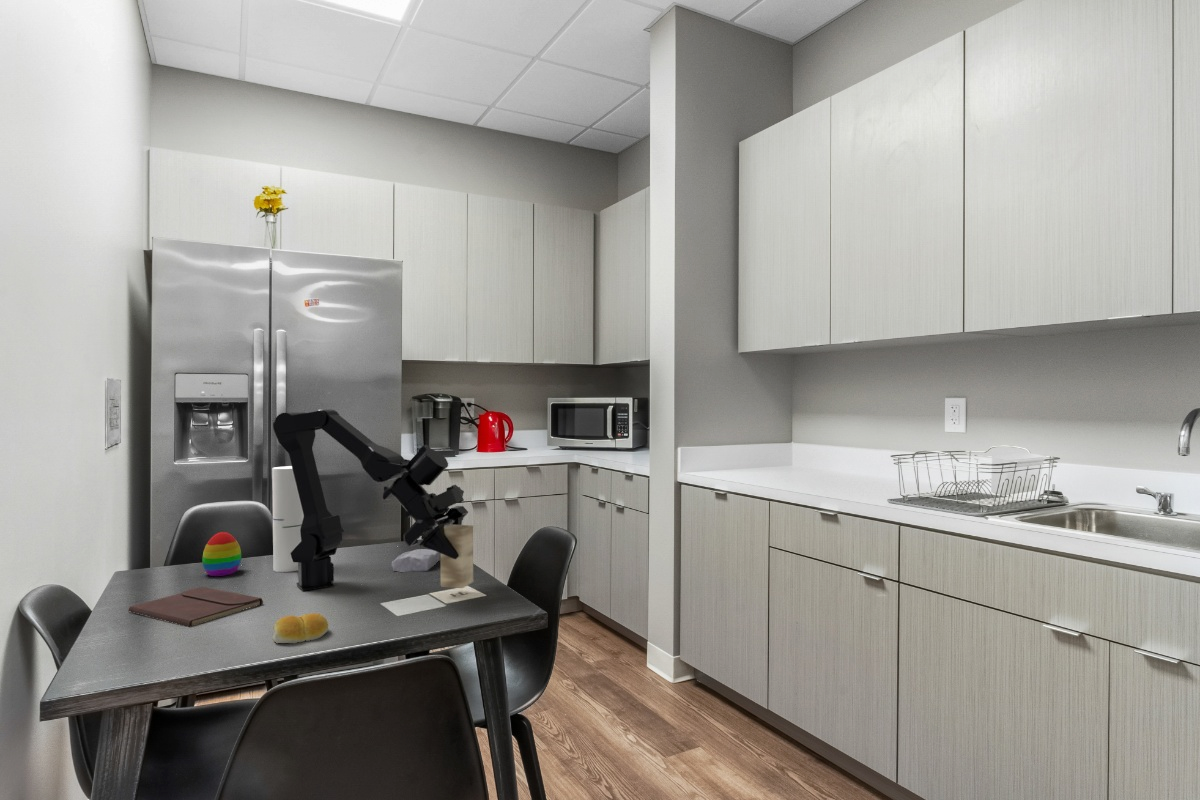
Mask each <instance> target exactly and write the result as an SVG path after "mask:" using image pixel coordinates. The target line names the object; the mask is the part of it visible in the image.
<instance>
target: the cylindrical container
mask: <svg viewBox="0 0 1200 800" xmlns="http://www.w3.org/2000/svg"><path fill="white" fill-rule="evenodd" d="M271 471H272V472H271V473H272V474H271V475H272V479H271V480H272V483H271V484H272V485H271V486H272V546H273V547H272V548H273V549H272V550H273V551H272V554H273V555H272V557H273V559H272V560H273V562H272V563H273V564H272V565H273V567H272V568H273V571H274V572H277V573H288V572H290V573H291V572H295V571H298V562H293V560H292V557H291V552H292V551H293V550H294V549H295V547H296V546H297V545H298V544H299V543H300V542H301V534H300V529H301V525H302V521H303V518H304V515H303V510H302V506H301V502H300V498H299V494H298V490H297V486H296V482H295V477H294V473H293V469H292V465H288V466H277V467H275V466H274V467H272V469H271Z"/></svg>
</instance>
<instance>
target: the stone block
mask: <svg viewBox="0 0 1200 800" xmlns="http://www.w3.org/2000/svg"><path fill="white" fill-rule="evenodd" d="M440 559H441V555H440V553H439V552H437V551H434V550H431V549H428V548H424V549H423V548H421V549H419V548H417V549H414V550H409V551H406V552H402V554H400V555H398V556H397V557H396V558H395V559H393V560H392V561H391V568H392V571H393V572H394V571H400V572H405V571H410V572H427V571H429V570H430V569H431V568H434V567H435V566H436V565H437V564H438V563H439V562H438V561H440ZM437 562H438V563H437ZM436 563H437V564H436ZM434 565H435V566H434Z"/></svg>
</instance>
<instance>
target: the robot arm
mask: <svg viewBox="0 0 1200 800" xmlns="http://www.w3.org/2000/svg"><path fill="white" fill-rule="evenodd" d="M272 427H273V432H274V435H275V436H276V439H277V441H278V443H279V445H280V446H281V447H282V448H283V449H284V450H285V451H286V452H287V455H288V456H289V461H290V464H291V465H290V466H292V469H293V473H294V477H295V482H296V486H297V490H298V494H299V498H300V502H301V506H302V510H303V515H304V518H303V521H302V525H301V529H300V534H301V542H300V543H299V544H298V545H297V546H296V547H295V549H294V550H293V551H292V552H291V557H292V560H293V562H298V570H297V571H298V573H297V574H298V577H297V578H298V580H297V581H298V582H296V584H295V585H296V586H297V588H299V590H301V591H303V592H304V591H310V590H318V589H323V588H329V587H333V586H334V583H333V582H334V581H335V580H334V577H335V575H334V574H335V571H334V569H335V568H334V566H335V565H334V563H333V562H332V557H331V556H334V555H336V553H337V550H338V546H340V544H341V542H342V540H343V533H344V532H345V530H344V529H343V527H342V525H341V524H342V523H341V517H340V515H339V514H336V515H333V514H332V513H331V512H330V511H329V509H328V508H327V504H326V500H325V496H324V492H323V487H322V484H321V478H320V475H319V471H318V467H317V463H316V459H315V455H314V451H313V446H314V442H315V439H316V431H318V430H322V431H324V432H325V433H327V435H328V436H330V437H332V439H333V440H335V441H336V442H338V443H339V445H341V446H343V447H344V448H345V449H346V450H347V451H348V452H350V453H351V454H352V455H354V456H355V458H357V459H358V460H359V461H360V464H361V467H362V469H363V470H364V471H365V472H366V473H367V475H368V476H369V477H370V478H371V479H372V480H373V481H374V482H376V483H377V482H378V483H383V482H387V481H392V480H394V481H393V482H391V484H390V485H386V486H385V485H384V486H383V494H382V499H383V500H388V499H392V498H395V499H396V500H397V502H398V503H399V504H400V505H401V506H402V507H403V509H404V510H405V511H406V512H405V513H404V516H405V517H406V518H412V520H414V521H415V522H414V523H413V524H412V525H410V526H409V528H408V529H407V530H406V531H405V532H404V533H403V542H404V543H405V544H406V546H408V547H409V548H411V547H413V546H417V545H418V546H419V547H423V548H425V549H428V550H434V551H437V552H439V554H440V555H441V554H444V555H446V556H448V557H451V558H453V559H457V557H458V556H459V555H458V553H457V551H456V550H455V548H454V547H453V545H452V544H451V543H450V541H449V540H448V538H447V537H446V535H445V534H444V527H447V526H449V525H463V520H464V518H465V517H466V516H467V515H468V513H469V511H468V510H467V509H466V507H465V506H463V505H456V506H454V507H452V506H453V505H455V504H458V503H463V502H464V501H465V499H464V493H465V492H464V490H463V489H461V487H460V486H458V485H457V484H453V485H451V486H449V487H446V491H443V492H441V493H440V494H436V493H433V492H432V493H428V491H427V490H426V489H425V488H424V487H423V486H431V485H432V484H433V483H434V481H436V479H438V477H439V476H440V475H442V473H443V472H444V471H445V470H446V469H447V468H448V466H449V462H448V460H447V459H446V457H445V456H444V455H443V454H441V453H440V452H438V451H437V450H435V449H433V448H431V447H430V446H429V445H426V444H425V445H422V446H421V447H420V448H419V449H418V451H417V453H416V454H415V455H414V456H413V457H412V458H411V459H406V458H404V457H403V456H402V455H401V454H400V453H397V452H396V451H393V450H392V449H389V448H388V447H384V446H381V445H379V444H377V443H376V442H374V441H372V439H370V438H369V437H367V435H365V434H363V433H362V432H361V431H359V429H357V428H356V427H355V426H354V425H352V424H351V423H350V422H349V421H348V420H346V419H345V418H343V416H341V415H340V413H339V412H338V411H336V410H335V409H332V408H329V409H327V408H326V409H318V410H316V411H309V412H305V411H296V412H295V411H294V412H293V411H291V412H288V411H287V412H281V413H280V414H278V415H277V416H276V417H275V420H274V421H273V423H272ZM404 473H405V474H404ZM403 475H404V476H403ZM449 507H451V508H449ZM420 538H421V540H422V541H421V542H420V543H419V541H418V540H419V539H420ZM418 543H419V544H418Z"/></svg>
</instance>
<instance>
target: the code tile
mask: <svg viewBox="0 0 1200 800" xmlns="http://www.w3.org/2000/svg"><path fill="white" fill-rule="evenodd" d="M428 595H429V596H431V597H433V598H435V599H436V600H438V601H440V602H441V603H443V604H445V605H447V604H451V603H452V604H453V603H457V602H461V601H467V600H473V599H476V598H482V597H486V596H487V594H485V593H483V592H481V591H479V590H477V589H475V588H473V587H471V586H469V585H467V586H466V587H464V588H450V589H445V590H444V589H443V590H440V591H435V592H430V593H429V592H428Z"/></svg>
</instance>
